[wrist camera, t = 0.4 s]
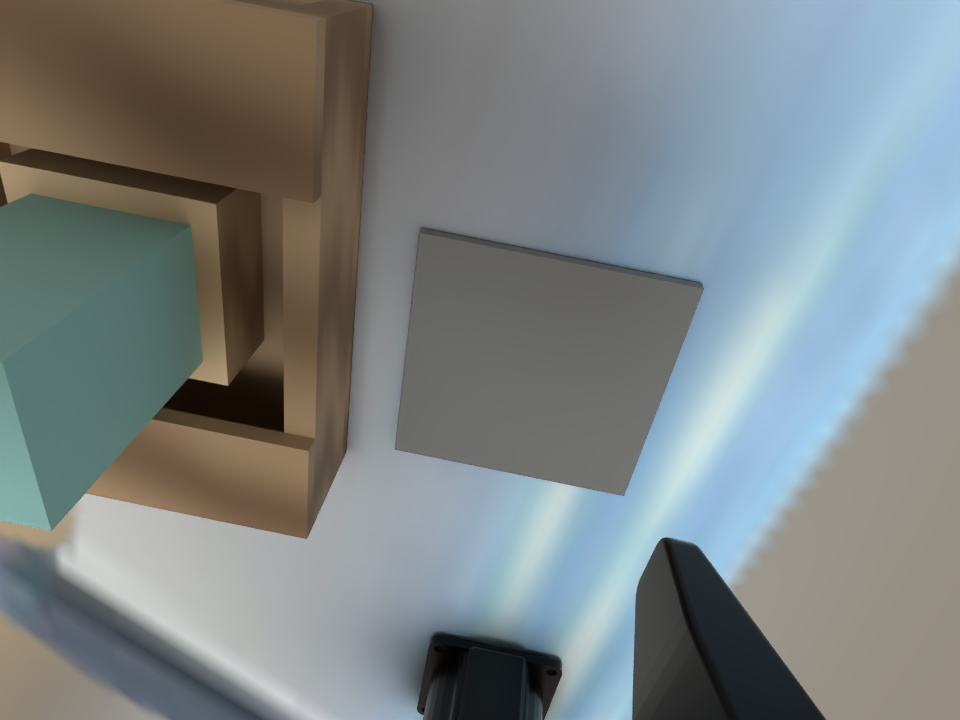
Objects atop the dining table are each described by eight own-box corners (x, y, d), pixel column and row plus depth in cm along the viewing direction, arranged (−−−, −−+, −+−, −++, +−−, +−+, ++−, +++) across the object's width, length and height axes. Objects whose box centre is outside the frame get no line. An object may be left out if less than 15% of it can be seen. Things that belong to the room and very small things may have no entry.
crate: (346, 451, 26) (306, 538, 22) (55, 392, 26) (-33, 469, 23) (373, 4, 18) (316, 20, 14) (-60, -78, 18) (-236, -86, 14)
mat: (623, 488, 26) (623, 496, 25) (397, 442, 26) (394, 449, 25) (701, 283, 21) (703, 289, 20) (422, 228, 21) (419, 232, 20)
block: (203, 361, 20) (51, 530, 14) (62, 332, 20) (-147, 490, 14) (190, 225, 18) (1, 361, 12) (30, 193, 18) (-236, 313, 12)
